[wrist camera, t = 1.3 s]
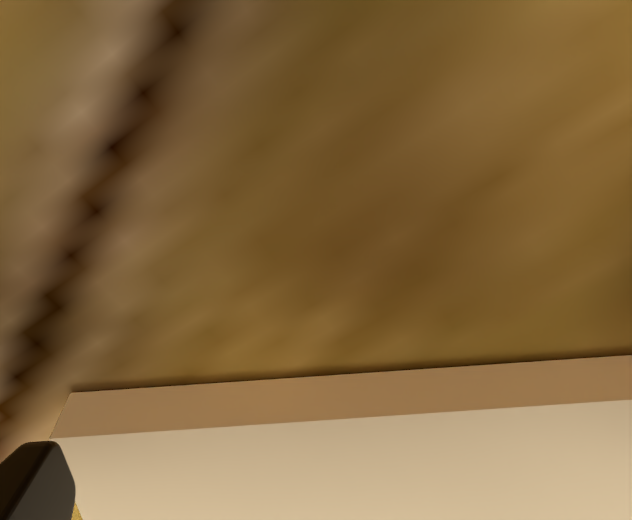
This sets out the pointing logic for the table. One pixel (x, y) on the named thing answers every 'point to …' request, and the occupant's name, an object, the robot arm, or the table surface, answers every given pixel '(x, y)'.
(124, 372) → the table surface
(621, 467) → the rail board
